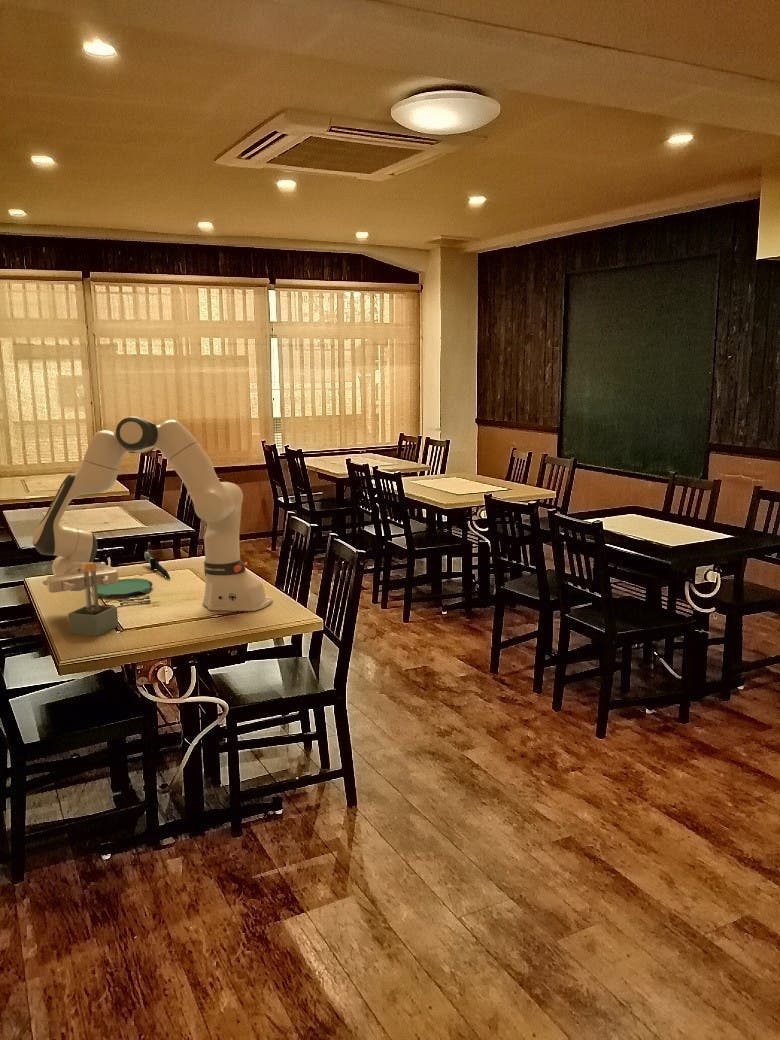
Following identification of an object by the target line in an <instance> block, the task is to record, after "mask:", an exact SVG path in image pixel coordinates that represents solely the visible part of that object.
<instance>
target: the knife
mask: <svg viewBox="0 0 780 1040" xmlns="http://www.w3.org/2000/svg"><path fill="white" fill-rule="evenodd" d="M143 555H144V559H145V560H146V561H147V562H148V564H149V566H150V570H151V571H152V570H154V569H157V570H156V571H158V572H159V574H161V575H162V574H163V575H164V577H165V576H166V577H167V578H169V579H168V580H171V576H170V574H169V572H168V570H167V569H165V568H164V567H163V566H162V565H161V564H160V563H159V557H154V558H153V557H152V555H151V554H150V553H149V551H148V550H144V553H143ZM154 571H155V570H154ZM163 575H162V576H163ZM166 577H165V578H166ZM167 578H166V579H167Z"/></svg>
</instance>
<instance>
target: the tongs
mask: <svg viewBox="0 0 780 1040" xmlns="http://www.w3.org/2000/svg"><path fill="white" fill-rule="evenodd" d="M89 568H90V570H91V581H92V587H90V582H89ZM82 570H83V571H84V582H85V589H84V591H85V604H86V605H85V606H87V608H85V611H86V612H87V614H89V615H92V613H94V615H97V614H99V612H100V608H99V605H100V604H99V597H98V593H97V581H96V563H94V561H93V562H90V563H89V565H88V564H87V563H83V564H82ZM91 590H92V595H91ZM91 596H92V597H91ZM92 602H93V604H92ZM91 604H92V605H94V607H92V606H91Z"/></svg>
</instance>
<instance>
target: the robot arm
mask: <svg viewBox="0 0 780 1040" xmlns="http://www.w3.org/2000/svg"><path fill="white" fill-rule="evenodd" d="M155 449H157V450H158V451H160V452H161V454H162V455H163V456H164V457H165V459H166V460H167V461H168V463H169V464H170V465H171V466H172V469H174V471H175V473H176V474H177V475H178V476H179V478H180V479H181V481H182V482H183V485H184V487H186V490H187V493H188V495H189V497H190V499H191V501H192V502H193V509H194V513H195V514H196V517H198V518H199V519H200V520H201V521H203V522H206V528H205V533H204V538H203V541H204V559H205V560H204V562H203V565H204V566H203V568H204V577H205V589H204V595H203V600H202V605H203V606H204V607H206V608H207V610H209V611H224V612H225V611H230V612H232V611H234V612H238V611H239V612H254V611H259V610H261V609H264V608H266V607H268V606H269V605H270V604H272V603H273V598H272V596H268V595H266V593H265V587H264V585H263V583H262V581H260V580H259V579H257V578H256V577H254V576H253V575H252V574H251V573H250V572H248V571H247V568H246V566H247V565H248V561H245V562H243V560H242V559H241V552H240V550H241V549H240V528H241V521H242V520H241V518H242V506H243V505H242V504H243V501H244V494H243V491H242V489H241V487H240V486H239V485H237V484H236V483H233V482H229V481H221V480H220V479H219V477H218V475H217V473H216V471H215V467H214V464H213V460H211V458H210V457H209V455H208V454H207V453H206V451H205V450H204V448H203V447H202V445H201V444H200V443H199V441H198V440H197V439H196V438H195V437H194V435H193V434H192V433H191V432H190V431H189V430H188V429H187V428H186V426H185V425H183V423H181V421H179V420H177V419H167V420H164V421H163V422H161V423H159V424H155V423H153V422H151V421H150V420H149V419H147V418H144V417H142V416H136V415H129V416H127V417H124V418H123V419H121V420H120V421H119V422H118V424H117V426H116V429H115V431H113V430H108V429H106V430H105V429H103V430H98V431H97V432H95V433H94V435H93V436H92V438H91V440H90V442H89V444H88V446H87V449H86V451H85V454H84V456H83V460H82V463H81V464H80V466H79V468H77V470H76V471H74V473H70V474H68V475H67V476H66V477H65V479H64V480H63V481H62V482H61V485H60V487H59V488H58V490H57V492H56V493H55V495H54V498H53V500H52V501H51V504H50V506H49V507H48V509H47V511H46V512H45V515H44V517H43V519H42V520H41V522H40V523H39V525H38V526H37V529H36V530H35V532H34V534H33V536H32V537H33V539H32V545H33V547H34V549H35V550H36V551H37V552H38V553H39V554H41V555H44V556H56V557H55V559H54V560H53V562H52V564H51V570H52V573H53V575H49V576H47V578H46V580H42V584H43V585H44V586H47V588H46V589H47V591H48V592H49V593H52V594H53V593H61V592H66V591H69V592H81V591H83V590H84V591H85V582H84V571H83V570H82V564H83V563H87V564H88V565H89V563H90V562H94V560H95V558H96V557H97V552H98V541H97V538H96V535H94V533H93V532H92V531H90V530H86V529H83V528H78V527H72V526H68V525H67V526H66V525H62V524H60V522H61V520H62V517H63V516H64V514H65V512H66V510H67V508H68V506H69V504H70V503H71V501H72V500H74V499H75V498H77V497H80V496H82V495H91V494H99V493H102V492H103V493H104V492H105V491H108V490H109V489H110V488H112V486H113V485H115V483H116V480H117V478H118V475H119V472H120V468H121V465H122V462H123V459H124V457H125V455H127V454H145V453H146V454H147V453H150V452H151V451H153V450H155ZM94 563H96V581H97V586H98V585H103V586H106V585H109V584H111V583H117V582H118V580H120V579H119V571H118V570H117V569H116V568H114V567H113V566H111V565H107V564H106V562H105V561H101V562H100V561H95V562H94ZM89 582H90V588H92V581H91V570H90V568H89Z"/></svg>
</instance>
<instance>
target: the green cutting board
mask: <svg viewBox="0 0 780 1040" xmlns="http://www.w3.org/2000/svg"><path fill="white" fill-rule="evenodd" d="M152 587H153V582H152V581H151V580H149V579H146V578H139V577H138V578H137V577H135V578H125V579H122V578H121V579H119V580H118V582H117V583H111V584H109V585H106V586H103V585H98V586H97V593H98V598H106V597H112V596H113V597H115V598H117V597H126V596H127V599H129V598H135V599H132V600H131V599H130V600H128V601H132V602H135V603H142V602H151V603H152V601H151V598H150V595H146V596H145V595H144V596H143V598H139V597H140V596H137V597H136V596H135V597H134V596H132V595H136V594H140V593H143V594H144V593H146V592H148V593H149V592H150V590H151V588H152ZM116 596H117V597H116ZM128 596H130V597H128ZM144 599H150V600H144ZM134 600H138V601H137V602H136V601H134ZM128 603H129V602H125V603H120V605H123V604H128Z"/></svg>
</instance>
